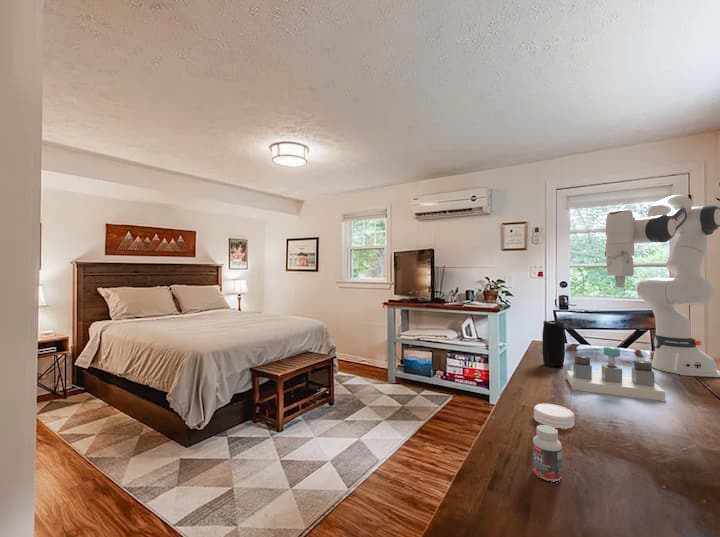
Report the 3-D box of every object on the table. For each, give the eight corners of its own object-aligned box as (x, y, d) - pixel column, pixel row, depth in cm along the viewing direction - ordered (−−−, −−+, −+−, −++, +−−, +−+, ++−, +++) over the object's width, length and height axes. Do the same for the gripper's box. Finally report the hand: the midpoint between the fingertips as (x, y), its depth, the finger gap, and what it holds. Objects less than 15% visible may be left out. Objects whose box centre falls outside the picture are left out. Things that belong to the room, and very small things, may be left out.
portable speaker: (554, 362, 161) (554, 319, 161) (569, 368, 151) (570, 322, 151) (537, 363, 159) (537, 320, 159) (552, 369, 150) (552, 323, 150)
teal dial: (618, 364, 127) (618, 346, 127) (621, 368, 123) (621, 349, 123) (602, 363, 129) (602, 345, 129) (605, 366, 125) (605, 348, 125)
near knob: (648, 379, 124) (648, 361, 124) (653, 383, 119) (653, 364, 119) (632, 377, 125) (632, 359, 125) (636, 381, 121) (636, 363, 121)
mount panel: (649, 387, 127) (649, 365, 127) (665, 400, 114) (665, 376, 114) (567, 378, 138) (567, 358, 137) (572, 389, 125) (572, 367, 125)
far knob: (588, 372, 131) (588, 355, 131) (591, 376, 126) (591, 359, 126) (573, 371, 133) (573, 354, 133) (575, 374, 128) (575, 357, 128)
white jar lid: (525, 418, 102) (525, 405, 102) (550, 412, 105) (550, 400, 105) (557, 433, 92) (557, 419, 92) (582, 426, 96) (582, 413, 96)
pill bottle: (529, 476, 73) (529, 429, 73) (536, 465, 77) (536, 420, 77) (558, 487, 69) (559, 437, 69) (564, 475, 73) (564, 428, 73)
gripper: (639, 250, 125) (639, 289, 125) (621, 252, 143) (622, 285, 144) (617, 250, 127) (617, 289, 127) (603, 252, 146) (603, 285, 146)
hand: (620, 287), depth 136 cm, fingers closed
